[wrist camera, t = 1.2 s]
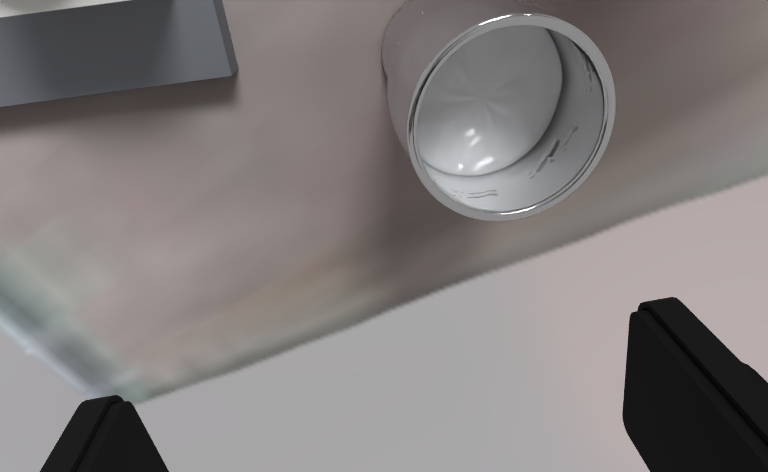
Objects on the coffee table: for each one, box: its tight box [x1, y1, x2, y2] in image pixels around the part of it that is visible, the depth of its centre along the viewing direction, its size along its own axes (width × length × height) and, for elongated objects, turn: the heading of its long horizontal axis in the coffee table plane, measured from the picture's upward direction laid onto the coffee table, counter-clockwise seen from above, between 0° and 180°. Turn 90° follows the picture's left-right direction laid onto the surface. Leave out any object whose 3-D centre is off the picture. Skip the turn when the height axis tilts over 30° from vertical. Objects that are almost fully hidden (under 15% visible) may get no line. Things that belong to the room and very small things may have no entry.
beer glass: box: [382, 0, 616, 221], centre depth 23 cm, size 7×7×15 cm
